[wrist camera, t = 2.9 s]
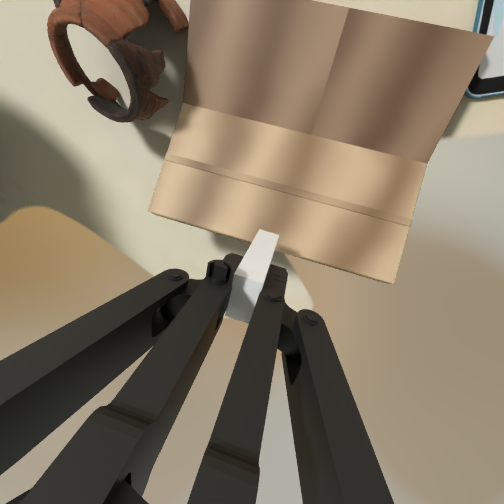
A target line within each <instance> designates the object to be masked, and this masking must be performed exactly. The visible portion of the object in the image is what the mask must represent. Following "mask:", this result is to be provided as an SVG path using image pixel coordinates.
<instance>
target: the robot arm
mask: <svg viewBox="0 0 504 504" xmlns="http://www.w3.org/2000/svg"><path fill="white" fill-rule="evenodd" d="M278 238H279V235H278V234H274V233H271V232H267V231H264V230H261V229H259V231H258V233H257V234H256V236H255V238H254V240H253V241H252V243H251V245H250V247H249V249H248V250H247V252H246V254H245V256H244V257H243V256H240V255H237V254H233V253H231V254H228V255H226V256H225V258H224V259H223V260H212V261H210V262H209V263H208V266H207V273H206V277H205V278H204V279H202V280H196V279H189V275H188V273H187V272H185V271H184V270H181V269H168V270H166V271H164V272H162V273H160V274H158V275H156V276H155V277H153V278H151V279H149V280H147V281H145V282H144V283H142V284H140V285H138V286H136V287H134V288H133V289H131V290H129V291H127V292H125V293H124V294H122V295H120V296H118V297H116V298H114V299H113V300H111V301H109V302H107V303H105V304H104V305H101V306H100V307H98V308H96V309H94V310H92V311H90V312H89V313H87V314H85V315H83V316H81V317H80V318H78V319H76V320H74V321H72V322H70V323H69V324H67V325H65V326H63V327H61V328H60V329H58V330H56V331H54V332H52V333H50V334H48V335H47V336H45V337H43V338H41V339H39V340H37V341H36V342H34V343H32V344H30V345H28V346H26V347H25V348H23V349H21V350H19V351H17V352H16V353H14V354H12V355H10V356H8V357H6V358H5V359H3V360H1V361H0V475H1V474H3V473H4V472H5V471H6V470H8V469H9V468H10V467H11V466H13V465H14V464H15V463H16V462H17V461H19V460H20V459H21V458H22V457H23V456H25V455H26V454H27V453H28V452H29V451H31V450H32V449H33V448H34V447H35V446H36V445H38V444H39V443H40V442H41V441H42V440H43V439H45V438H46V437H47V436H48V435H49V434H50V433H51V432H53V431H54V430H55V429H56V428H57V427H59V426H60V425H61V424H62V423H63V422H64V421H66V420H67V419H68V418H69V417H70V416H71V415H73V414H74V413H75V412H76V411H77V410H79V409H80V408H81V407H82V406H83V405H84V404H86V403H87V402H88V401H89V400H90V399H92V398H93V397H94V396H95V395H96V394H97V393H99V392H100V391H101V390H102V389H103V388H104V387H106V386H107V385H108V384H109V383H110V382H111V381H113V380H114V379H115V378H116V377H117V376H118V375H119V374H121V373H122V372H123V371H124V370H125V369H126V368H128V367H129V366H130V365H131V364H133V363H134V362H135V361H136V360H137V359H138V358H139V357H141V356H142V355H143V354H144V353H145V352H147V351H148V350H149V349H150V348H151V347H152V346H153V348H152V349H151V350H150V351H149V353H148V354H147V355H146V357H145V358H144V360H143V361H142V362H141V363H140V365H139V366H138V367H137V369H136V370H135V371H134V373H133V374H132V375H131V377H130V378H129V380H128V381H127V382H126V383H125V385H124V386H123V387H122V389H121V390H120V391H119V393H118V394H117V395H116V397H115V398H114V399H113V400H112V402H111V403H110V404H108V405H107V406H101V407H99V408H98V409H96V410H95V411H94V412H93V413H92V414H91V415H90V416H89V417H88V419H87V420H86V421H85V422H84V423H83V425H82V426H81V427H80V429H79V430H78V431H77V432H76V434H75V435H74V436H73V437H72V439H71V440H70V441H69V442H68V444H67V445H66V446H65V447H64V449H63V450H62V451H61V452H60V454H59V455H58V456H57V458H56V459H55V460H54V461H53V463H52V464H51V465H50V466H49V468H48V469H47V470H46V471H45V473H44V474H43V475H42V477H41V478H40V479H39V480H38V481H37V483H36V484H35V485H34V486H33V488H31V489H30V490H28V491H26V492H24V493H23V494H21V495H19V496H18V497H16V498H14V499H13V500H11V501H9V502H8V503H6V504H148V503H147V502H146V501H145V500H144V499H143V498H142V495H143V493H144V490H145V488H146V485H147V482H148V479H149V476H150V473H151V470H152V468H153V466H154V464H155V461H156V459H157V457H158V455H159V453H160V451H161V449H162V447H163V444H164V443H165V440H166V438H167V436H168V434H169V432H170V430H171V428H172V426H173V423H174V422H175V419H176V417H177V415H178V413H179V411H180V409H181V407H182V405H183V403H184V401H185V398H186V396H187V394H188V392H189V390H190V388H191V386H192V384H193V382H194V380H195V378H196V376H197V374H198V371H199V369H200V367H201V365H202V363H203V361H204V359H205V357H206V355H207V353H208V351H209V348H210V346H211V344H212V342H213V340H214V338H215V336H216V334H217V332H218V330H219V328H220V325H221V323H222V320H223V315H224V313H225V311H226V313H225V316H228V317H231V318H234V319H237V320H240V321H243V322H246V323H249V326H248V328H247V332H246V334H245V337H244V340H243V343H242V346H241V349H240V352H239V355H238V358H237V361H236V364H235V367H234V370H233V373H232V376H231V379H230V382H229V385H228V388H227V391H226V394H225V396H224V399H223V402H222V405H221V408H220V411H219V414H218V417H217V420H216V423H215V426H214V429H213V432H212V435H211V438H210V441H209V443H208V446H207V448H206V451H205V453H204V456H203V459H202V462H201V465H200V468H199V470H198V474H197V476H196V480H195V482H194V485H193V488H192V491H191V494H190V497H189V500H188V503H187V504H255V503H256V497H257V491H258V483H259V475H260V468H259V455H260V449H261V442H262V436H263V431H264V425H265V419H266V412H267V406H268V400H269V394H270V388H271V382H272V376H273V370H274V364H275V358H276V352H277V349H279V350H280V351H282V361H283V368H284V375H285V382H286V389H287V396H288V403H289V410H290V416H291V424H292V431H293V438H294V445H295V451H296V458H297V465H298V472H299V479H300V486H301V493H302V500H303V504H394V502H393V499H392V497H391V494H390V492H389V489H388V486H387V484H386V481H385V479H384V476H383V473H382V471H381V468H380V466H379V463H378V460H377V458H376V455H375V452H374V450H373V447H372V445H371V442H370V439H369V437H368V434H367V432H366V429H365V426H364V424H363V421H362V419H361V416H360V414H359V411H358V408H357V406H356V403H355V400H354V398H353V395H352V393H351V390H350V387H349V385H348V382H347V379H346V377H345V375H344V372H343V369H342V367H341V364H340V361H339V359H338V356H337V353H336V351H335V348H334V346H333V343H332V340H331V338H330V335H329V333H328V330H327V327H326V325H325V322H324V320H323V319H322V317H321V316H320V315H319V314H317V313H316V312H314V311H311V310H308V309H302V310H300V311H299V312H296V311H294V310H293V309H291V308H290V307H289V306H288V305H287V304H286V303H285V299H284V294H285V288H286V283H287V277H288V273H287V271H286V269H284V268H281V267H278V266H274V265H271V261H272V258H273V255H274V251H275V248H276V244H277V241H278Z"/></svg>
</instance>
